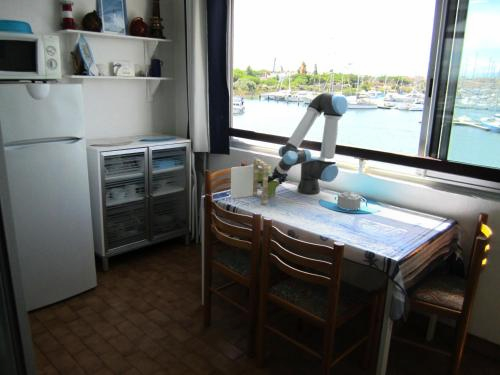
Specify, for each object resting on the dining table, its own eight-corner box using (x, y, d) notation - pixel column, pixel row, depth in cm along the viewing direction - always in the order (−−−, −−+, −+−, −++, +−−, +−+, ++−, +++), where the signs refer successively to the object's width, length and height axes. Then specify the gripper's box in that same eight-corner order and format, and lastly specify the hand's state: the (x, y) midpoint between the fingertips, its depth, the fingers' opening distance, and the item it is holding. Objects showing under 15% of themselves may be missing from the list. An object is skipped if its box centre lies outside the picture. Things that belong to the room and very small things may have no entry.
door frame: (266, 204, 242) (268, 164, 235) (263, 205, 241) (264, 165, 234) (256, 194, 261) (257, 157, 254) (252, 195, 260) (253, 157, 253)
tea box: (246, 187, 278) (246, 166, 274) (250, 183, 287) (251, 163, 283) (267, 189, 274) (268, 168, 270) (271, 185, 283) (271, 165, 279)
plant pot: (276, 197, 256) (276, 184, 254) (261, 196, 258) (262, 183, 256) (278, 193, 265) (278, 180, 263) (264, 192, 267) (264, 179, 265)
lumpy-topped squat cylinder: (353, 211, 233) (355, 197, 231) (333, 206, 242) (334, 192, 239) (361, 207, 241) (363, 193, 239) (342, 203, 249) (343, 189, 247)
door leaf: (231, 198, 250) (231, 167, 245) (229, 196, 253) (229, 166, 247) (252, 195, 257) (253, 165, 251) (250, 194, 259) (251, 165, 254)
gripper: (267, 176, 239) (254, 194, 257) (299, 173, 249) (284, 190, 267) (263, 165, 242) (251, 184, 260) (294, 162, 252) (280, 181, 270)
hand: (268, 187), depth 263 cm, fingers closed on plant pot, 9 cm apart
